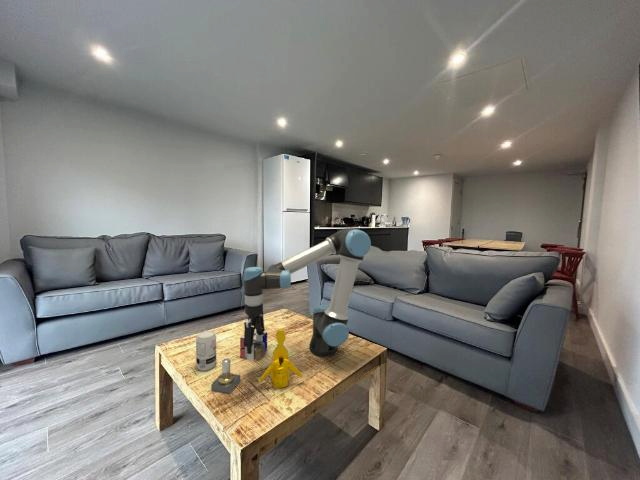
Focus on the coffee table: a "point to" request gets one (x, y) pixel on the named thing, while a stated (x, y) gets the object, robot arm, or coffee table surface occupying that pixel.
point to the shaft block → (225, 379)
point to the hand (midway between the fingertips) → (255, 354)
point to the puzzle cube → (264, 337)
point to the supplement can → (206, 350)
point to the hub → (257, 350)
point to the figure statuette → (280, 364)
